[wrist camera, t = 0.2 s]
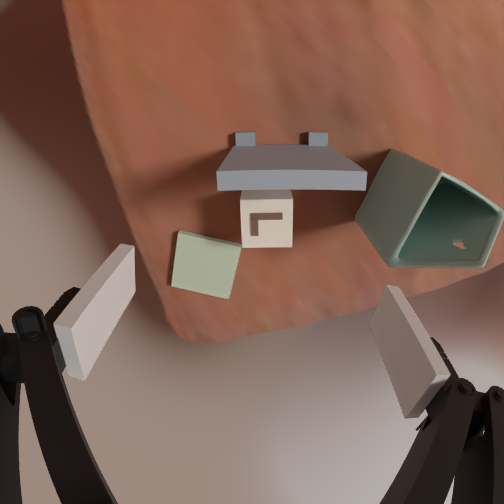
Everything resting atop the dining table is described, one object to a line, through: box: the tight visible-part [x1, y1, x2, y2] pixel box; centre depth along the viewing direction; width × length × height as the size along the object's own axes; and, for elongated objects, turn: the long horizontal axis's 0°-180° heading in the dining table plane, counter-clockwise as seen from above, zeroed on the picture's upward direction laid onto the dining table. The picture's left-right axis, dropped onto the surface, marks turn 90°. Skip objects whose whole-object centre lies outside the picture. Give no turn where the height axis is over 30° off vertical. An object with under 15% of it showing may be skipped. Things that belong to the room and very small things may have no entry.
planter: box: [355, 149, 504, 268], centre depth 30 cm, size 16×8×20 cm, turn 114°
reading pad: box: [171, 230, 242, 299], centre depth 46 cm, size 9×9×1 cm
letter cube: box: [240, 189, 293, 248], centre depth 39 cm, size 6×6×6 cm
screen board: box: [216, 132, 367, 191], centre depth 31 cm, size 12×5×16 cm, turn 92°
